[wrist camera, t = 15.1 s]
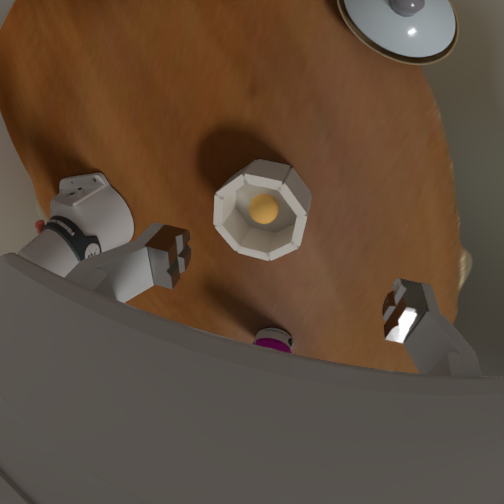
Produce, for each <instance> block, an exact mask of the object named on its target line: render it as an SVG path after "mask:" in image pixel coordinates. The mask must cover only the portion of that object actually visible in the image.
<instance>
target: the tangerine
mask: <svg viewBox="0 0 504 504" xmlns="http://www.w3.org/2000/svg"><path fill="white" fill-rule="evenodd" d="M249 213H250V216H251V217H252V219H253V220H254V221H256V222H258V223H261V224H267V223H270V222H272V221H274V220H275V219H276V217H277V216H278V213H279V205H278V202H277V201H276V199H275V198H274V197H272V196H271V195H268V194H260V195H257V196H255V197H254V198H253V199H252V200H251V202H250V205H249Z"/></svg>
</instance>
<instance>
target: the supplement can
mask: <svg viewBox="0 0 504 504" xmlns="http://www.w3.org/2000/svg"><path fill="white" fill-rule="evenodd" d="M253 344H254V345H258V346H262V347H266V348H270V349H274V350H278V351H283V352H287V353H292V349H293V344H294V342H293V339H292V338H291V336H290V335H289V334H288V333H286V332H285V331H283V330H281V329H277V328H266V329H263V330H261V331H259V332H258V333H257V334H256V337H255V340H254V343H253Z"/></svg>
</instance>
